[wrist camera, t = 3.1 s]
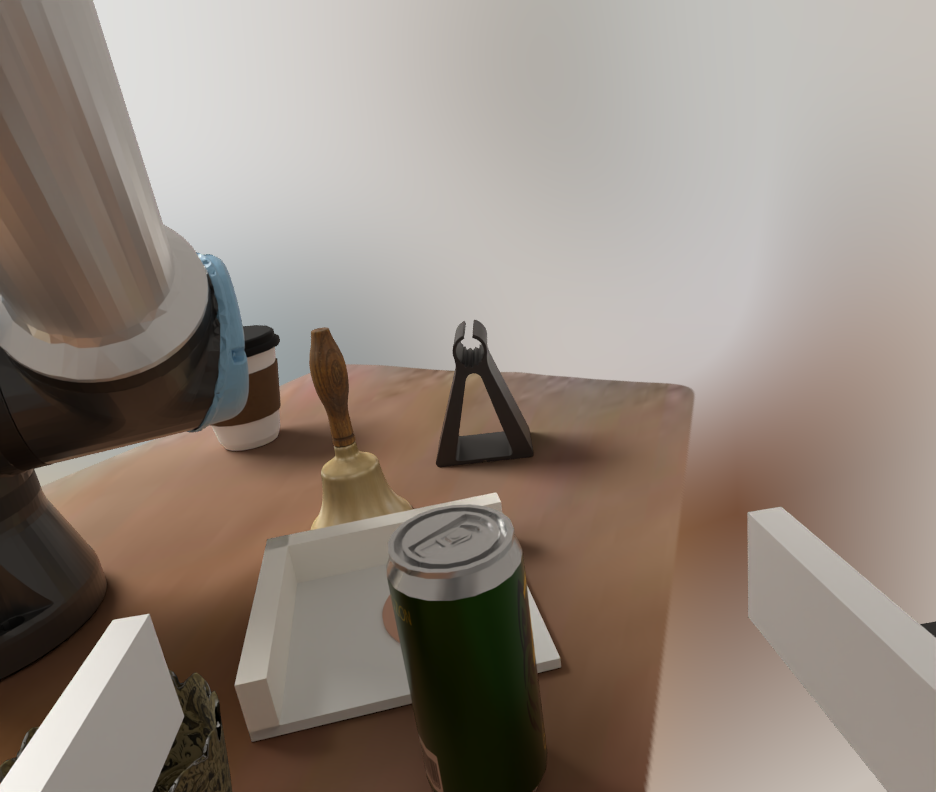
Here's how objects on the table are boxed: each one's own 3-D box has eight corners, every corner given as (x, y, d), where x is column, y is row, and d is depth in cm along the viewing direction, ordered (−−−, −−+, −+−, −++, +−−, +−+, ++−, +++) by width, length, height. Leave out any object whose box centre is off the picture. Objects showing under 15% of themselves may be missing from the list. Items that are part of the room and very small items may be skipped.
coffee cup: (225, 469, 67) (194, 356, 63) (185, 447, 75) (155, 345, 71) (318, 432, 73) (295, 328, 70) (272, 415, 81) (249, 321, 78)
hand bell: (290, 552, 50) (239, 348, 44) (338, 498, 57) (299, 319, 52) (392, 556, 47) (350, 341, 42) (428, 499, 55) (396, 311, 50)
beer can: (474, 855, 26) (428, 596, 22) (406, 766, 30) (357, 537, 26) (574, 774, 28) (548, 533, 25) (499, 704, 33) (467, 489, 29)
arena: (251, 741, 33) (234, 685, 31) (278, 582, 46) (267, 539, 45) (561, 667, 34) (555, 611, 33) (501, 535, 48) (496, 492, 47)
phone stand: (529, 432, 65) (517, 314, 62) (533, 456, 60) (519, 329, 56) (440, 441, 66) (422, 326, 62) (436, 467, 60) (415, 341, 57)
